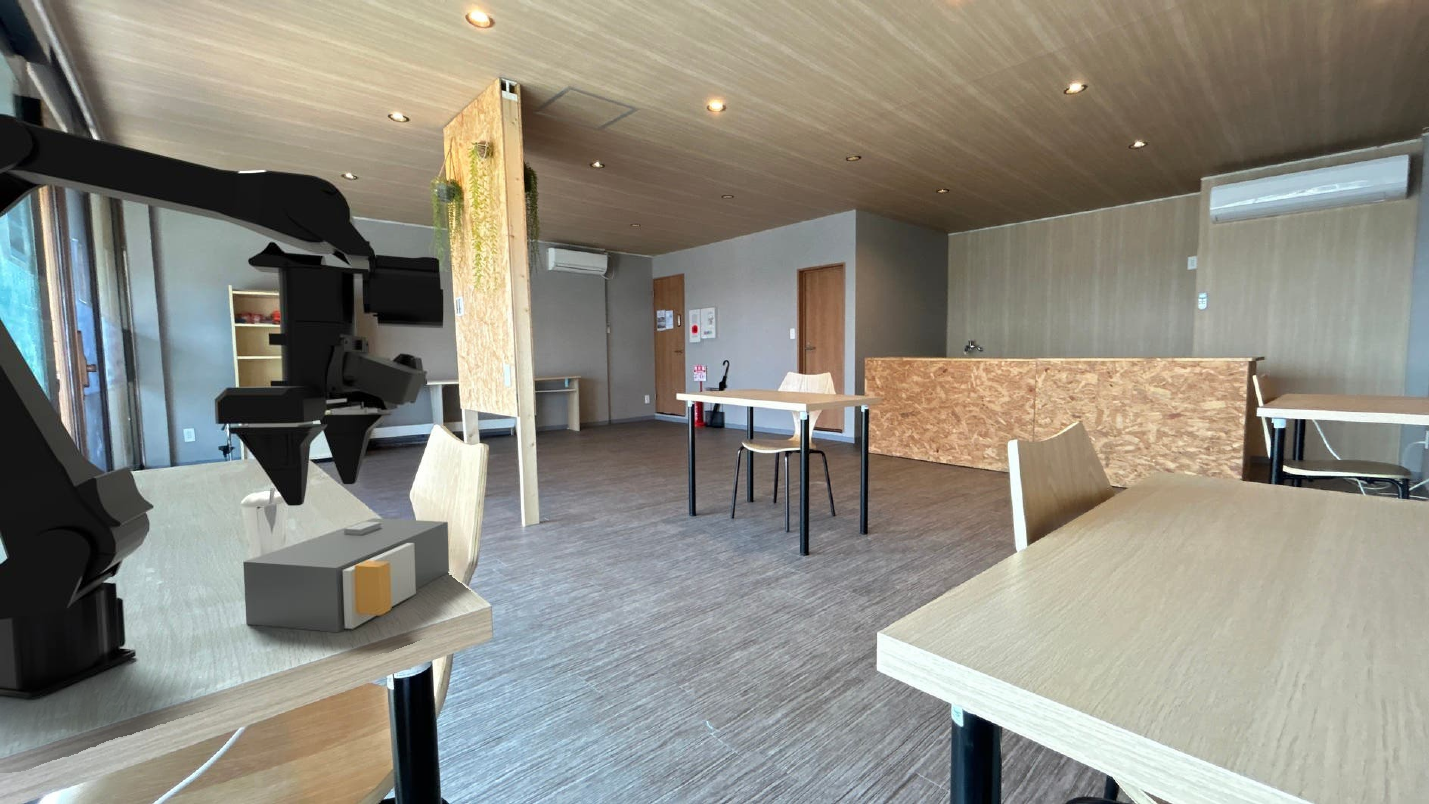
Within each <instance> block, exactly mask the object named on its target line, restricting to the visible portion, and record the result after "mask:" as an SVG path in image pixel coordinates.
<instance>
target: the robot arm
mask: <svg viewBox="0 0 1429 804" xmlns="http://www.w3.org/2000/svg"><path fill="white" fill-rule="evenodd" d="M48 185H50V186H51V185H52V186H55V187H60V188H66V189H70V190H76V191H78V192H79V191H80V192H85V193H89V194H95V195H98V196H104V197H108V198H113V199H117V200H123V201H128V202H132V203H136V204H141V205H146V206H152V207H157V208H161V209H166V210H170V211H176V212H181V213H184V214H189V215H190V214H191V215H195V216H200V217H205V218H209V219H210V218H211V219H214V220H219V221H224V222H228V223H230V224H233V225H235V226H236V225H237V226H239V227H241V228H245V229H247V230H250V231H252V232H254V233H258V234H259V235H262V236H265V237H267V238H269V239H272V240H274V241H270V242H268V244H267V245H266V247H264V249H263V250H261V251H259V252H258V253H256V254H255V255H253V256H250V257H249V258H248V259H247V263H248V265H250V266H251V267H253V268H254V269H256V271H258V272H260V273H261V272H262V273H270V274H271V273H272V274H277V277H278V279H277V280H278V301H279V306H278V307H279V308H278V309H279V322H280V323H279V328H280V329H279V331H280V332H278V333H277V332H275V333H274V332H273V333H272V332H271V333H270V332H269V333H268V345H269V346H278V347H280V356H281V357H280V359H281V360H280V362H281V380H270V381H269V382H270V386H269V385H268V386H266V385H265V386H232V387H226V388H225V389H224V390H223V391H222V392H221V393H220V394H218V396H216V398H215V399H214V416H215V417H214V419H215V424H217V425H234V426H229V427H228V432H229V434H230V435H236V436H237V437H238V438H239V439H240V441H241V442H242V443H243V445H244V446H245V447H246V448H247V449H248V451H249V452H250V453H251V455H252V456H253V457H254V458H255V460H256V462H258V464H259V465H260V467H261V468H262V470H263V471H264V472H265V473H266V476H267V477H268V478H269V480H270V481H271V483H272V484H273V486H274V488H275V490H277V492H279V493H280V495H281V496H282V498H283V499H284V501H285V502H286V504H287V505H288V507H289V506H291V507H293V506H294V507H295V506H296V507H297V506H302V505H303V504H304V503H305V498H306V491H307V486H308V485H307V484H308V474H309V462H310V454H311V452H310V451H311V446H312V442H313V441H314V440H315V439H316V438H317V437H318V436H319V435H320V434H321V433H322V432H323V435H324V438H325V440H326V443H327V446H328V448H329V452H330V454H331V457H332V460H333V463H334V465H335V468H336V471H337V474H338V475H339V478H340V480H341V483H342V485H354V484H355V485H356V483H357V481H358V478H359V475H360V471H361V467H362V465H363V461H364V457H365V455H366V452H367V451H366V450H367V448H368V444H369V441H370V438H371V435H372V433H373V431H374V430H375V428H376V427H378V426H379V425H380V424H381V423H382V422H383V421H385V420H386V419H387V418H389V417H391V415H392V412H378V409H380V410H381V411H388V410H389V411H390V410H395V409H398V406H403V405H406V404H407V403H411V404H416V401H417V399H418V396H419V393H420V390H421V389H422V388H425V387H426V386H427V385H428V380H427V378H426V377H427V373H428V371H426V370H424V366H423V362H422V358H421V357H419V356H416V355H413V354H410V353H406V352H405V353H404V352H401V353H398V355H397V356H396V357H394V358H393V359H392V360H391V358H388V357H382V356H379V355H377V354H376V355H375V354H374V353H373V354H372V353H371V352H370V343H369V341H368V340H366V338H367V337H365V336H358V335H357V315H356V313H357V311H356V310H357V309H356V307H357V306H356V280H355V279H361V282H362V305H363V307H362V308H363V314H364V316H371V315H372V317H373V318H377V326H378V327H391V328H392V327H395V328H400V327H401V328H420V329H421V328H422V329H423V328H426V329H443V327H444V288H442V286H441V285H442V283H441V272H440V259H439V258H437V257H429V256H419V257H406V256H397V255H396V256H395V255H385V254H376V253H375V250H374V248H373V247H372V245H371V241H369V240H366V238H365V237H364V236H363V235H362V234H361V232H359V230H358V229H357V228H356V223H355V219H354V216H353V214H352V212H351V208H350V206H349V204H348V201H347V198H346V197H345V195H344V194H343V193H342V192H341V191H340V189H338V187H337V186H336V185H334V184H333V183H331V182H330V181H328V180H326V179H324V178H321V177H319V176H317V175H311V174H304V173H295V172H288V171H287V172H285V171H274V170H267V169H266V170H264V169H263V170H246V171H245V170H244V171H243V170H242V171H239V170H238V171H237V170H230V169H220V168H216V167H212V166H209V165H208V166H207V165H203V164H201V163H196V162H191V161H188V160H187V161H186V160H182V159H179V158H175V157H170V156H166V155H163V154H159V153H153V152H149V151H146V150H142V149H138V148H137V149H136V148H133V147H129V146H125V145H121V144H117V143H111V142H107V141H105V140H100V139H95V138H91V137H87V136H83V135H79V134H75V133H70V132H67V131H62V130H59V129H54V128H49V127H46V126H42V125H39V124H34V123H30V122H27V121H25V120H23V119H21V118H18V117H16V116H13V115H10V114H5V113H0V218H2V217H3V216H6V214H7V213H9V212H10V211H11V210H12V209H13V208H15V207H16V206H17V205H18V204H20V203H21V202H22V201H23V200H25V198H27V197H28V196H29V195H31V194H32V193H33V192H35V191H37V190H39V189H42V188H43V187H47V186H48ZM275 241H277V242H280V243H283V244H286V245H289V246H291V247H294V248H297V249H300V250H302V251H304V252H305V251H306V252H308V253H312V254H308V253H307V254H306V253H296V252H295V253H293V252H285V251H284V250H282V248H281V247H280V246H279V245H278V244H277V242H275ZM324 255H332V256H334V258H336V259H338V260H339V261H341V262H343V263H344V264H346V265H347V266H349V267H347V266H346V267H345V266H336V265H328V263H327V260H326V257H325V256H324ZM327 411H329V413H327ZM317 421H319V423H314V422H317ZM239 424H240V425H239ZM154 507H155V506H154V505H153V504H152V503H150V502H149V501H147V500H146V499H145V498H144V497H143V495H142V494H141V493H140V492H139V490H138V486H137V484H136V481H135V478H134V475H133V473H132V471H131V469H130V468H129V467H128V466H124V467H121V468H118V469H114V470H112V471H109V472H105V471H103V470H102V469H100V468H99V467H98V466H96V465H95V464H94V463H92V461H89V460H88V459H87V458H86V457H85V456H84V455H83V454H82V452H81V451H80V450H79V448H78V446H77V445H76V443H75V441H74V439H73V438H72V436H71V434H70V433H69V431H68V430H67V428H66V426H65V424H64V423H63V421H62V419H61V418H60V416H59V414H58V413H57V411H56V409H55V408H54V405H53V404H52V402H51V401H50V399H49V397H48V396H47V394H46V392H45V391H44V390H43V387H42V386H41V384H40V382H39V381H38V379H37V377H36V376H35V374H34V373H33V371H32V369H31V367H30V366H29V364H28V362H27V361H26V359H25V357H24V355H23V354H22V352H21V351H20V349H19V347H18V346H17V344H16V342H15V340H14V339H13V337H12V335H11V333H10V332H9V331H8V328H7V327H6V325H5V323H4V322H3V320H2V318H1V317H0V542H1V544H2V547H3V551H4V553H5V556H6V559H5V560H3V561H2V562H1V563H0V695H1V696H7V697H8V696H9V697H15V698H17V697H18V698H24V699H25V698H26V699H34V698H39V697H42V696H45V695H46V694H49V693H51V692H54V691H57V690H59V689H62V688H64V687H66V686H68V685H71V684H73V683H76V682H78V681H80V680H82V679H85V678H87V677H89V676H92V675H94V674H97V673H100V672H102V671H105V670H106V669H109V668H111V667H114V666H115V665H119V664H120V663H123V662H125V661H126V662H127V660H131V659H133V658H134V657H136V656H137V655H136V653H137V652H136V649H134V648H133V649H132V648H123V647H124V646H125V645H126V639H127V638H126V625H125V608H124V607H125V606H124V599H123V598H121V597H118V593H117V591H118V590H117V589H118V588H117V582H116V583H115V582H106V581H107V580H108V579H110V578H113V577H115V576H116V575H117V574H118V573H119V570H120V567H121V565H122V563H123V561H124V560H125V558H127V557H129V556H131V555H132V554H133V553H134V552H136V551H137V550H138V548H139V547H141V546H142V545H143V543H144V541H145V539H146V537H147V536H148V533H149V532H150V525H151V524H150V519H149V516H148V513H147V512H149V511H151V510H153V509H154Z"/></svg>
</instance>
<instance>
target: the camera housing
mask: <svg viewBox="0 0 1429 804" xmlns="http://www.w3.org/2000/svg"><path fill="white" fill-rule="evenodd" d="M448 525H449V522H448V521H439V520H438V521H434V520H418V519H417V520H416V519H415V520H414V519H413V520H412V519H395V518H394V519H393V518H377V517H376V518H370V519H368V520H364V521H362V522H361V521H360V522H358V523H355V524H353V525H349V526H346V527H343V528H340V529H337V530H334V531H331V532H328V533H325V534H323V535H320V536H317V537H313V538H310V539H308V540H305V541H301V542H298V543H295V544H293V545H289V546H286V548H283V549H280V550H277V551H274V552H271V553H268V554H265V555H262V556H259V557H256V558H253V559H250V558H249V559H247V560H244V561H243V565H242V566H243V578H244V580H243V581H244V582H243V584H244V600H245V601H244V602H245V603H244V605H245V624H246V625H253V626H263V627H273V628H274V627H275V628H283V629H285V628H286V629H294V630H296V629H298V630H309V631H319V632H320V631H321V632H329V633H330V632H332V633H341V632H342V631H343V630H346V629H347V628H345V619H344V592H343V570H344V569H347V568H349V567H352V566H354V565H356V564H359V563H361V562H363V561H366V560H368V559H371V558H373V557H375V556H378V555H380V554H382V553H385V552H387V551H389V550H392V549H394V548H397V547H399V546H401V545H404V544H406V543H414V553H415V585H416V591H417V590H418V589H421V588H423V587H424V586H426V585H427V584H429V583H432V582H433V581H434V580H436V579H439V578H440V577H442V576H444V575H445V574H447V573H449V572H450V560H449V559H450V558H449V557H450V556H449V555H450V553H449V526H448Z"/></svg>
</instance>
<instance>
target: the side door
mask: <svg viewBox="0 0 1429 804" xmlns="http://www.w3.org/2000/svg"><path fill="white" fill-rule="evenodd" d="M343 592H344V619H345V628H346V629H350V630H351V629H352V630H353V629H355V628H356V627H358V626H360V625H362V624H364V623H365V622H367V621H369V620H371V619H373V618H374V617H376V616H383V614H386V613H387V612H389V611H391V610H392V607H394V606H396V605H397V604H399V603H401V602H403V601H405V600H406V599H408V598H411V597H412V596H414V595H416V593H417V590H416V585H415V553H414V543H406V544H404V545H401V546H399V547H397V548H394V549H392V550H389V551H387V552H385V553H382V554H380V555H378V556H375V557H373V558H371V559H368V560H366V561H363V562H361V563H359V564H356V565H354V566H352V567H349V568H347V569H344V570H343Z"/></svg>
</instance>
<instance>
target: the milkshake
mask: <svg viewBox="0 0 1429 804" xmlns="http://www.w3.org/2000/svg"><path fill="white" fill-rule="evenodd" d="M240 507H241V513H242V517H243V523H244V528H245V529H244V530H245V535H246V543H247V549H248V556H249V560H250V559H253V558H256V557H259V556H262V555H265V554H268V553H271V552H274V551H277V550H280V549H283V548H286V547H287V545H286V544H287V524H288V523H287V520H288V507H289V505H287V504H286V502H285V501H284V499H283V498H282V496H281V495H280V493H279V492H278V491H276V487H272V488H270V489H269V490H268V491H267V490H265V491H261V492H258V493H254V492H253V493H250V494H248V495H247V496H245V497H244V498H243V499H242V501H240Z"/></svg>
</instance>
